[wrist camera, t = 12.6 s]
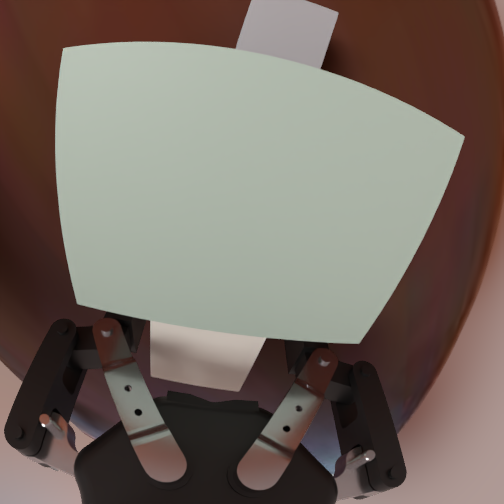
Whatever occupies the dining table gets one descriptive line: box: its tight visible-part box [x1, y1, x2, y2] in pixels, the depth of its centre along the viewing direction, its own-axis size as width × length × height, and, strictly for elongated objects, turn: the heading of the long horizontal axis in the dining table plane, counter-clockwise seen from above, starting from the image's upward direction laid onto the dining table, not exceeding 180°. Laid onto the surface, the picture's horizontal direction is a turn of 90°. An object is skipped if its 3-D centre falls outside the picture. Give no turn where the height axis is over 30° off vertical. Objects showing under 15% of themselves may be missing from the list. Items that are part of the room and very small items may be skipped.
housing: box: [55, 42, 464, 344], centre depth 9 cm, size 7×9×6 cm
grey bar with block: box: [150, 0, 338, 391], centre depth 11 cm, size 17×4×5 cm, turn 165°
